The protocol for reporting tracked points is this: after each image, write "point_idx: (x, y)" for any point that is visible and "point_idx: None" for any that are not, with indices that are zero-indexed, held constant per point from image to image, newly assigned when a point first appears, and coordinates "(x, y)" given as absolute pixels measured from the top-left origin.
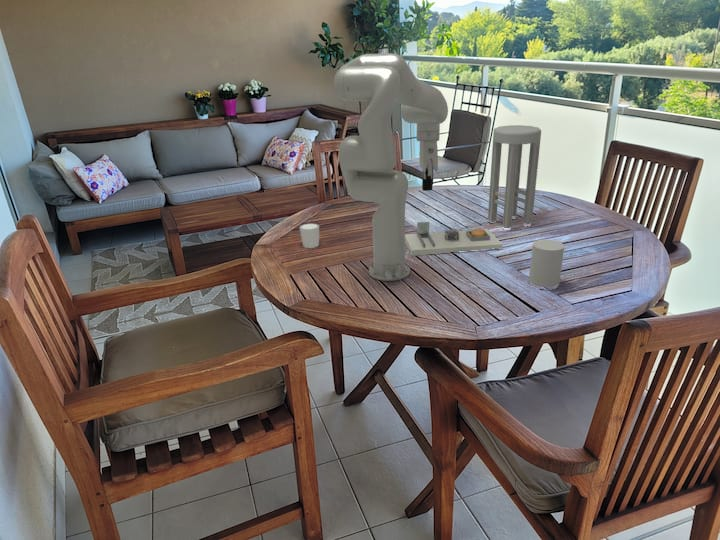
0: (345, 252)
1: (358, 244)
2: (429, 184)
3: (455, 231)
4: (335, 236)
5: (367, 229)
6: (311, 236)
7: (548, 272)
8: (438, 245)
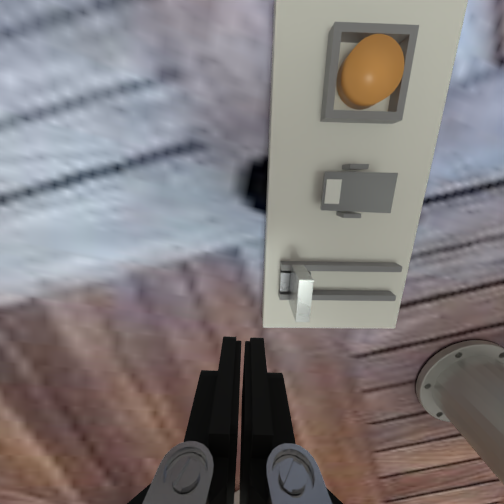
0: (311, 446)
1: None
2: (285, 406)
3: (380, 182)
4: None
5: (156, 395)
6: None
7: None
8: (387, 248)
